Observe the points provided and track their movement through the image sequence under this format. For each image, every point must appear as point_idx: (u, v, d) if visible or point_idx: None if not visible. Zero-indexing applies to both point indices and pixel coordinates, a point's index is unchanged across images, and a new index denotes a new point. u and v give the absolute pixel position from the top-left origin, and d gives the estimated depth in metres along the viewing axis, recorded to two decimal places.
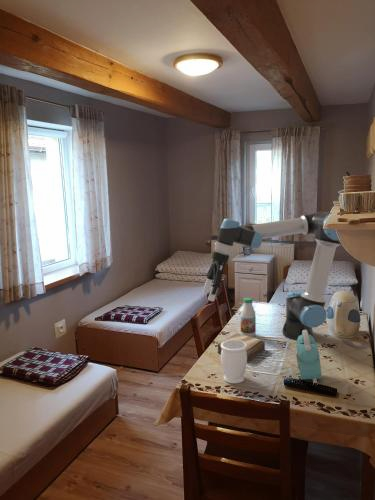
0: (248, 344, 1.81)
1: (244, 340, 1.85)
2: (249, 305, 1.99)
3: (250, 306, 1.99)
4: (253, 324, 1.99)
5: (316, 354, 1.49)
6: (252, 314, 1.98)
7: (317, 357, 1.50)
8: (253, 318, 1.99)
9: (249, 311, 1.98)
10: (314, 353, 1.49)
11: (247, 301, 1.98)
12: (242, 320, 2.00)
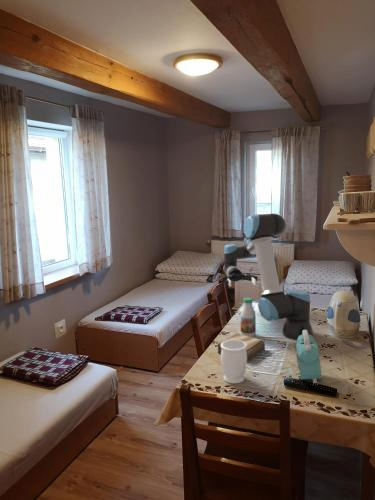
0: (248, 344, 1.81)
1: (244, 340, 1.85)
2: (249, 305, 1.99)
3: (250, 306, 1.99)
4: (253, 324, 1.99)
5: (316, 354, 1.49)
6: (252, 314, 1.98)
7: (317, 357, 1.50)
8: (253, 318, 1.99)
9: (249, 311, 1.98)
10: (314, 353, 1.49)
11: (247, 301, 1.98)
12: (242, 320, 2.00)
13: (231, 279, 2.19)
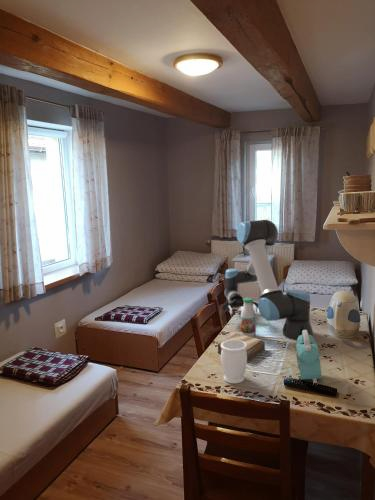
0: (248, 344, 1.81)
1: (244, 340, 1.85)
2: (249, 305, 1.99)
3: (250, 306, 1.99)
4: (253, 324, 1.99)
5: (316, 354, 1.49)
6: (252, 314, 1.98)
7: (317, 357, 1.50)
8: (253, 318, 1.99)
9: (249, 311, 1.98)
10: (314, 353, 1.49)
11: (247, 301, 1.98)
12: (242, 320, 2.00)
13: (232, 305, 2.19)
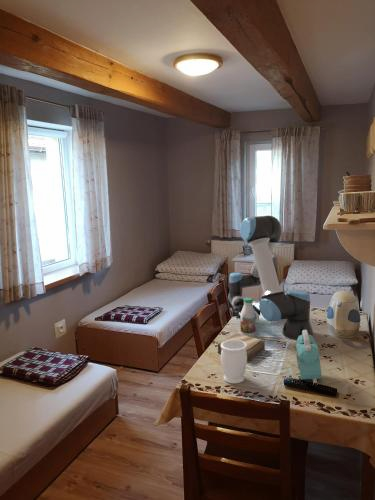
0: (248, 344, 1.81)
1: (244, 340, 1.85)
2: (249, 305, 1.99)
3: (250, 306, 1.99)
4: (253, 324, 1.99)
5: (316, 354, 1.49)
6: (252, 314, 1.98)
7: (317, 357, 1.50)
8: (253, 318, 1.99)
9: (249, 311, 1.98)
10: (314, 353, 1.49)
11: (247, 301, 1.98)
12: None
13: (240, 312, 2.08)
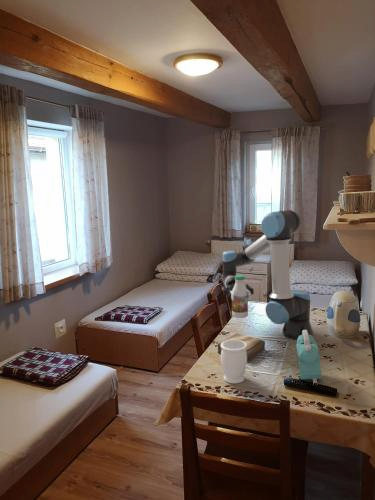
0: (248, 344, 1.81)
1: (244, 340, 1.85)
2: (240, 282, 1.85)
3: (242, 283, 1.86)
4: (245, 303, 1.86)
5: (316, 354, 1.49)
6: (244, 292, 1.85)
7: (317, 357, 1.50)
8: (245, 296, 1.86)
9: (241, 289, 1.85)
10: (314, 353, 1.49)
11: (239, 278, 1.85)
12: None
13: (231, 291, 1.95)
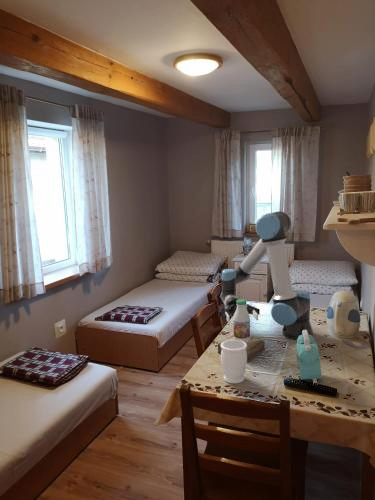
0: (248, 344, 1.81)
1: None
2: (242, 307, 1.80)
3: (244, 308, 1.80)
4: (247, 328, 1.81)
5: (316, 354, 1.49)
6: (246, 317, 1.80)
7: (317, 357, 1.50)
8: (247, 322, 1.80)
9: (243, 314, 1.79)
10: (314, 353, 1.49)
11: (240, 303, 1.79)
12: (235, 324, 1.81)
13: (229, 312, 1.89)
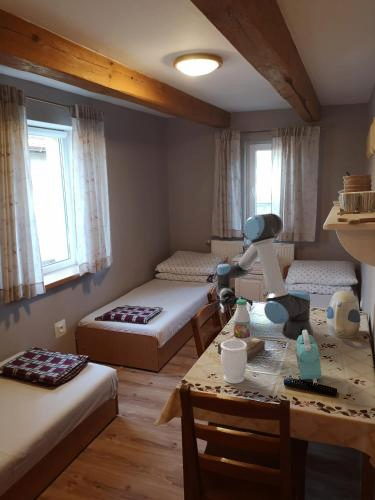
0: (248, 344, 1.81)
1: None
2: (242, 307, 1.80)
3: (244, 309, 1.80)
4: (247, 328, 1.80)
5: (316, 354, 1.49)
6: (246, 317, 1.80)
7: (317, 357, 1.50)
8: (247, 322, 1.80)
9: (243, 314, 1.79)
10: (314, 353, 1.49)
11: (241, 303, 1.79)
12: (235, 324, 1.81)
13: (224, 303, 2.02)
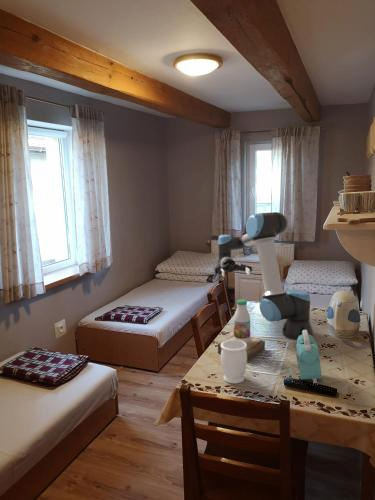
0: (248, 344, 1.81)
1: None
2: (242, 307, 1.80)
3: (244, 309, 1.80)
4: (247, 328, 1.80)
5: (316, 354, 1.49)
6: (246, 317, 1.80)
7: (317, 357, 1.50)
8: (247, 322, 1.80)
9: (243, 314, 1.79)
10: (314, 353, 1.49)
11: (241, 303, 1.79)
12: (235, 324, 1.81)
13: (225, 269, 2.14)
